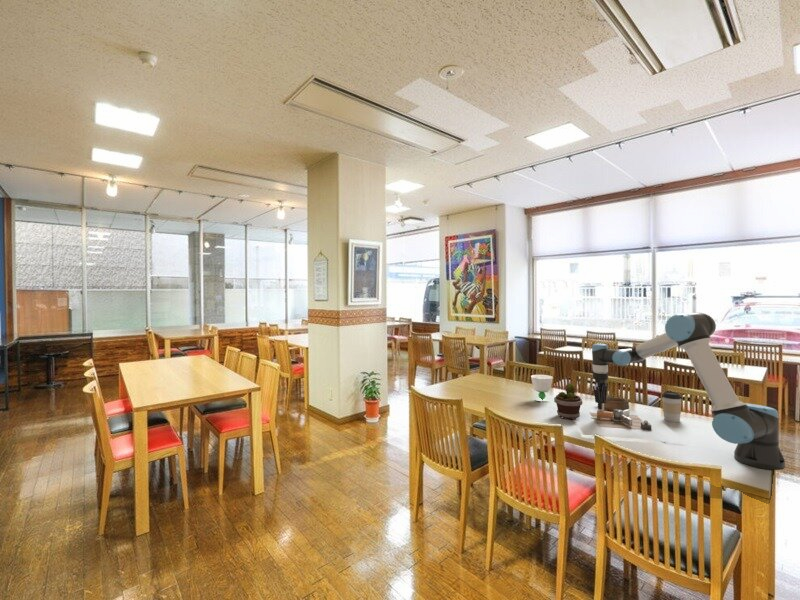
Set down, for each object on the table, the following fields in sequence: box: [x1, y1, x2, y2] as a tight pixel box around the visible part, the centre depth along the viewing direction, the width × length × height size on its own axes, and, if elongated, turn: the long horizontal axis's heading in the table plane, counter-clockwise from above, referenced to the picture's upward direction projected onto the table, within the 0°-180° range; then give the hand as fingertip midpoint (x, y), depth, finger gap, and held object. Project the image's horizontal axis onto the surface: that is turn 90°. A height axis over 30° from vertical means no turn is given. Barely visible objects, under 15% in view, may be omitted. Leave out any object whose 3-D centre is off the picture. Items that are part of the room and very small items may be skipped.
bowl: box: [604, 394, 630, 413], centre depth 224 cm, size 18×14×10 cm
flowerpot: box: [553, 382, 583, 420], centre depth 215 cm, size 14×15×20 cm
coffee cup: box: [661, 390, 683, 423], centre depth 207 cm, size 9×9×15 cm
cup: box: [530, 374, 554, 400], centre depth 249 cm, size 14×14×16 cm
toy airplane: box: [589, 412, 652, 431], centre depth 203 cm, size 24×25×6 cm
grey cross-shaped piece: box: [596, 409, 632, 426], centre depth 204 cm, size 16×18×6 cm
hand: (601, 414), depth 208 cm, fingers closed
